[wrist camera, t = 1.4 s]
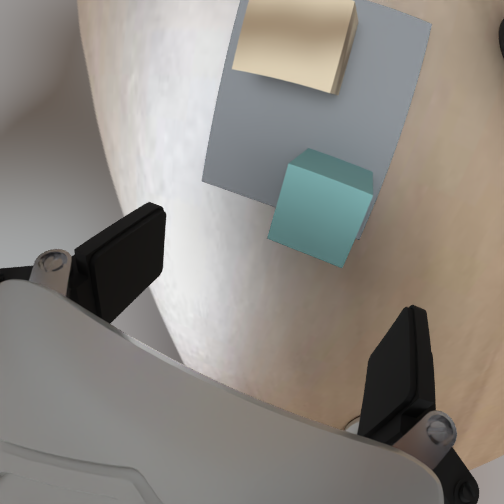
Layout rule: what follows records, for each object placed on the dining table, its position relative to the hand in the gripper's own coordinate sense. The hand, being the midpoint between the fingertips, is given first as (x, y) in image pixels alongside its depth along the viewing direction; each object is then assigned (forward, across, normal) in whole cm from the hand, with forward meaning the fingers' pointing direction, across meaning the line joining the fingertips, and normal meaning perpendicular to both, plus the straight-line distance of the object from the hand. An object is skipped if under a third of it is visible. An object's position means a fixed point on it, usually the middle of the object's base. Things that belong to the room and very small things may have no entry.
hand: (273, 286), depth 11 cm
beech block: (+14, +4, -9) cm, 17 cm away
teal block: (+14, 0, +1) cm, 14 cm away
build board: (+15, +3, -5) cm, 16 cm away
